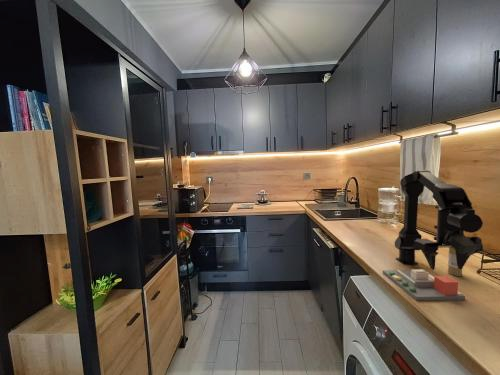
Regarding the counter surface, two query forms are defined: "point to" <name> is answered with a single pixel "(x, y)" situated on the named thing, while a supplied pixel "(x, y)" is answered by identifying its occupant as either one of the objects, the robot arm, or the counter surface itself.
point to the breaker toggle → (419, 274)
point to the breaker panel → (419, 286)
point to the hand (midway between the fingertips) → (446, 269)
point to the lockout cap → (446, 285)
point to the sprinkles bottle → (453, 263)
